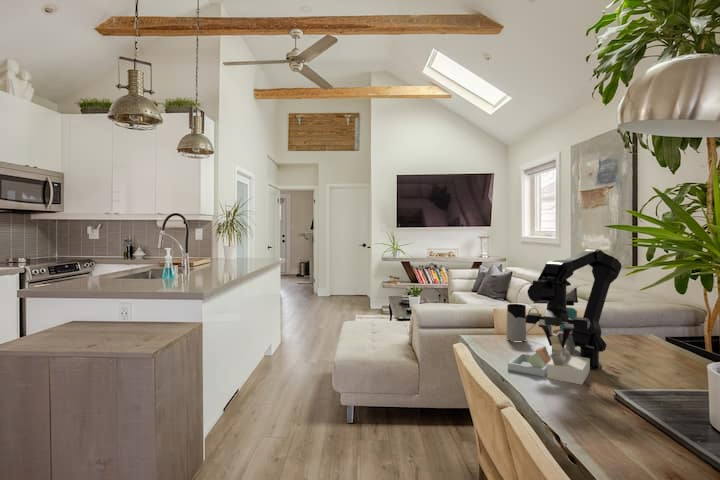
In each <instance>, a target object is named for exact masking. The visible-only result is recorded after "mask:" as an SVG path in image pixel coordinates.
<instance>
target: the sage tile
mask: <svg viewBox="0 0 720 480" xmlns="http://www.w3.org/2000/svg"><path fill="white" fill-rule="evenodd" d="M531 355H532V356H530V357H529V358H528V359H527V360H528V361H529V363H530V364H531V365H532V366H533V367H537V368H542V367H543V366H544V365H545V363H544V361H543V360H542V359H541V358H540V356H539V355H538V354H537V352H535V353H533V354H531Z"/></svg>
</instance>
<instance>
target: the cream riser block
mask: <svg viewBox="0 0 720 480" xmlns="http://www.w3.org/2000/svg"><path fill="white" fill-rule="evenodd" d="M590 369H591V368H590V358H585V357H580V356H577V355H575V356H572V355H569V356H568V357H567V358H566V360H565V361H564V362H563V364H558V365H554V363H553V360H551V361H550V362H549V363H548V364H547V374H546V378H547V379H551V380H556V381H561V382H565V383H572V384H576V385H581V386H583V384H584V383H585V380H586V379H587V377H588V376H589V374H590Z"/></svg>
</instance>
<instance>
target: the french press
mask: <svg viewBox="0 0 720 480" xmlns="http://www.w3.org/2000/svg"><path fill="white" fill-rule="evenodd" d="M566 295H567V291H566ZM568 319H570V318H568ZM564 325H565V324H563V328H564ZM553 327H557V326H555V325H551V331H552V328H553ZM552 332H553V334H558V333H560V336H561V339H562V340H563V330H559V329H554V330H553V331H552ZM568 337H569V338H571V339H567V341H566V343H565V345H566V344H567V345H568V348H569V351H570V354H569V355H572V356H576V347H575V345H574V341H573V337H572V331H571V332H570V333H569V335H568ZM553 353H554V350H553V346H551V354H549V356H550V358H552V357H551V355H552V354H553Z"/></svg>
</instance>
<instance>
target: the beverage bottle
mask: <svg viewBox="0 0 720 480" xmlns="http://www.w3.org/2000/svg"><path fill="white" fill-rule="evenodd" d="M574 305H575V301H574V299H571V298H570V299H569V298H566V311H568V317H569V318H570V319H575V318H576V317H578V311H577V309H576V308H574V307H573V306H574ZM568 306H571V307H568ZM564 327H565V325H564ZM558 330H563V324H561V325H560V326H559V329H558ZM572 332H573V331H572ZM567 339H571V338H569V337H568V338H567ZM566 345H567V344H566ZM577 347H578V346H575V348H577Z"/></svg>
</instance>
